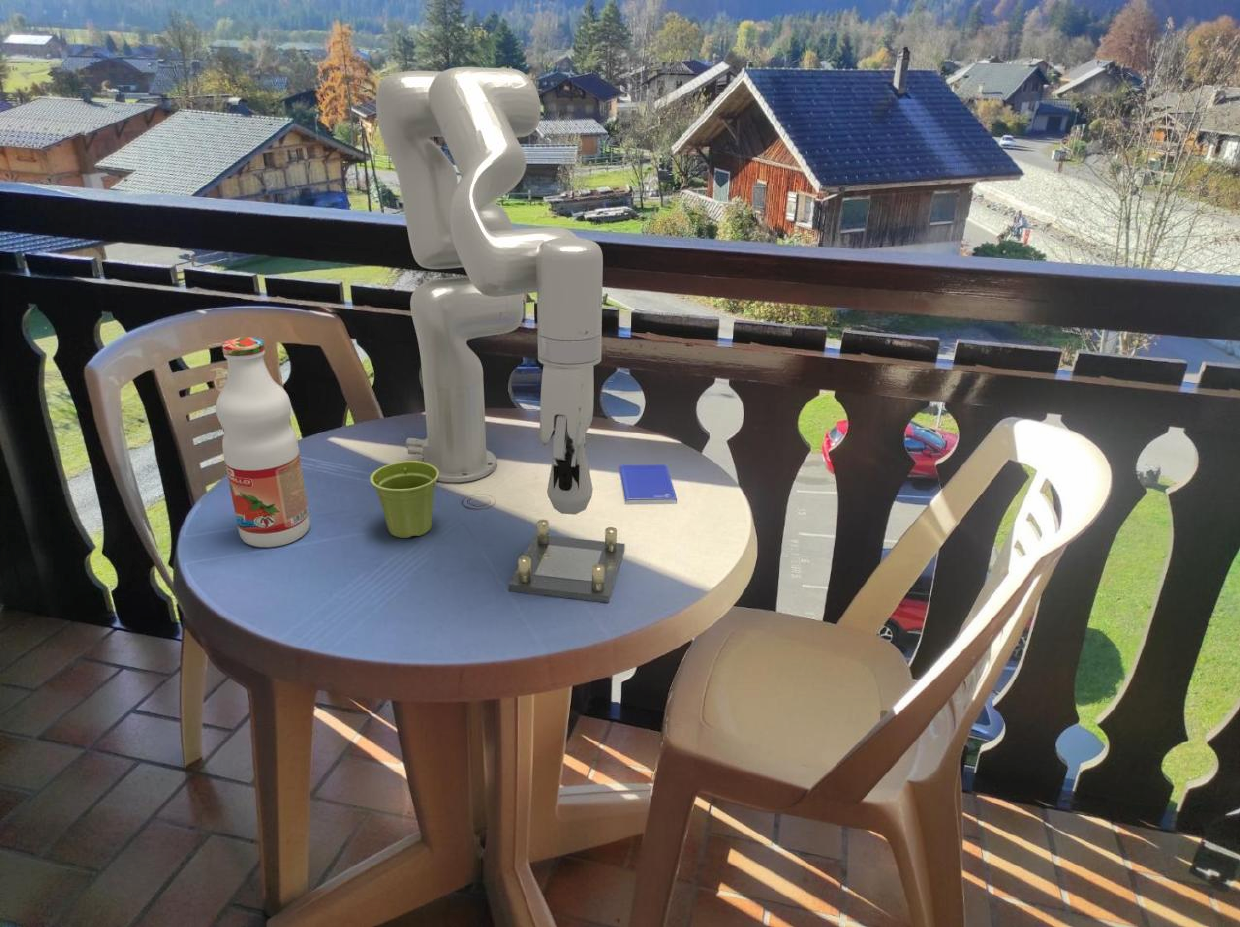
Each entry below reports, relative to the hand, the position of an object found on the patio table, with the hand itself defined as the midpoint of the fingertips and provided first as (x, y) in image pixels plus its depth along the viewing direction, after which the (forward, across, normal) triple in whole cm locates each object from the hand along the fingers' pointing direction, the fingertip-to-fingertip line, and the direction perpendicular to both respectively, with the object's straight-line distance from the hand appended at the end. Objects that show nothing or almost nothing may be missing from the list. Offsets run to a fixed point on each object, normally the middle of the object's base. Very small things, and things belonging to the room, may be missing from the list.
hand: (569, 485), depth 103 cm
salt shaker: (+3, 0, 0) cm, 3 cm away
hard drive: (+14, -27, +7) cm, 31 cm away
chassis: (+13, 0, 0) cm, 13 cm away
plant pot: (+13, -6, -25) cm, 29 cm away
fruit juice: (+13, -1, -43) cm, 45 cm away
